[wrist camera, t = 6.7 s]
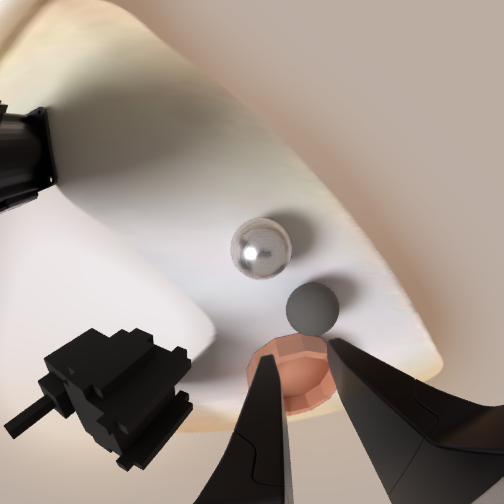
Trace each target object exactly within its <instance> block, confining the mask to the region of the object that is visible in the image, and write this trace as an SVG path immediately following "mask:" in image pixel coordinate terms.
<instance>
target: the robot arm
mask: <svg viewBox="0 0 504 504" xmlns="http://www.w3.org/2000/svg"><path fill="white" fill-rule="evenodd" d="M7 107H8V105H6V104H1V100H0V214H1V213H4V212H6V211H9V210H11V209H14V208H16V207H19V206H21V205H23V204H25V203H28V202H30V201H32V200H35V199H37V197H38V192H39V191H41V190H44V189H46V188H49V187H51V186H53V185H55V184H56V183H57V173H56V169H55V163H54V158H53V152H52V146H51V140H50V133H49V125H48V117H47V110H46V108H45V107H39V108H37V109H35V110H33V111H32V112H30V113H28V114H27V115H20V114H10V113H6V110H7ZM41 111H42V114H41V115H40V112H41ZM50 177H52V182H51V181H50ZM327 361H328V365H329V368H330V371H331V374H332V376H333V379H334V382H335V385H336V388H337V391H338V394H339V396H340V399H341V401H342V404H343V406H344V408H345V410H346V412H347V414H348V416H349V418H350V420H351V422H352V423H353V426H354V428H355V429H356V432H357V433H358V436H359V438H360V440H361V442H362V444H363V446H364V448H365V450H366V452H367V454H368V455H369V458H370V460H371V462H372V464H373V466H374V468H375V470H376V472H377V474H378V476H379V478H380V480H381V482H382V484H383V486H384V488H385V490H386V493H387V495H389V496H388V497H389V499H390V501H391V503H392V504H504V405H501V406H494V407H493V406H483V405H479V404H476V403H473V402H470V401H468V400H465V399H462V398H459V397H456V396H453V395H451V394H448V393H446V392H443V391H441V390H438V389H436V388H434V387H432V386H429V385H427V384H425V383H423V382H421V381H419V380H417V379H415V378H413V377H411V376H410V375H408V374H406V373H404V372H402V371H400V370H398V369H396V368H394V367H392V366H391V365H389V364H387V363H385V362H383V361H381V360H379V359H377V358H376V357H374V356H372V355H370V354H368V353H366V352H365V351H363V350H361V349H359V348H357V347H355V346H354V345H352V344H350V343H348V342H346V341H344V340H343V339H341V338H334V339H331V340H328V341H327ZM193 504H294V502H293V489H292V475H291V462H290V450H289V439H288V427H287V417H286V410H285V404H284V398H283V391H282V385H281V379H280V375H279V371H278V368H277V365H276V361H275V358H274V355H273V354H268V355H263V356H261V357H260V360H259V362H258V365H257V368H256V371H255V374H254V377H253V380H252V382H251V385H250V388H249V391H248V394H247V396H246V399H245V402H244V404H243V407H242V410H241V413H240V415H239V418H238V421H237V423H236V426H235V429H234V432H233V433H232V436H231V439H230V441H229V444H228V446H227V448H226V450H225V453H224V455H223V457H222V458H221V460H220V462H219V464H218V466H217V468H216V469H215V471H214V473H213V474H212V476H211V477H210V479H209V481H208V482H207V484H206V485H205V487H204V489H203V490H202V492H201V493H200V495H199V497H198V498H197V499H196V501H195V502H194V503H193Z"/></svg>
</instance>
